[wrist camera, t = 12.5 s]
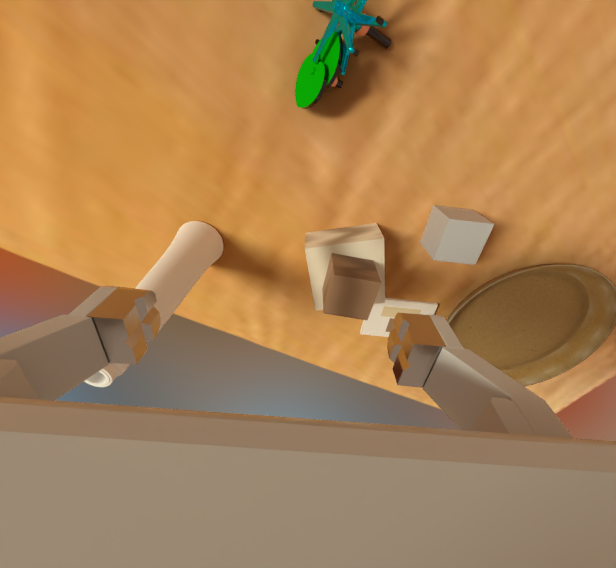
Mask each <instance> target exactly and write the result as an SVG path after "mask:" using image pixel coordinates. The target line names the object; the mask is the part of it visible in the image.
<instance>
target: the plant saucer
mask: <svg viewBox="0 0 616 568" xmlns="http://www.w3.org/2000/svg"><path fill="white" fill-rule="evenodd" d="M447 322H448V324H449V325H450V327H451V329H452V330H453V332H454V333H455V335H456V337H457V338H458V340H459V341H460V343H461V345H462V346H463V348H464V349H469V350H471V351H472V352H474V353H475V354H477V355H478V356H479V357H481V358H482V359H484V360H485V361H487V362H488V363H490V364H491V365H493V366H494V367H496V368H497V369H499V370H500V371H502V372H503V373H505V374H506V375H508V376H509V377H511V378H512V379H514V380H515V381H517V382H518V383H519V384H521V385H522V386H524V387H525V386H529V385H533V384H536V383H540V382H543V381H545V380H548V379H551V378H553V377H555V376H558V375H560V374H562V373H564V372H566V371H568V370H569V369H571V368H573V367H574V366H576V365H578V364H579V363H581V362H582V361H583V360H585V359H586V358H587V357H589V356H590V355H591V354H592V353H593V352H594V351H596V350H597V349H598V348H599V347H600V346H601V345H602V343H603V342H604V341H605V340H606V339H607V337H608V336H609V335H610V333H611V332H612V330H613V328H614V327H615V324H616V287H615V286H614V284H613V283H612V282H611V281H610V280H609V279H608V278H607V277H606V276H604V275H603V274H601V273H599V272H597V271H595V270H593V269H590V268H586V267H582V266H576V265H568V264H546V265H538V266H531V267H527V268H522V269H519V270H515V271H512V272H509V273H506V274H504V275H502V276H499V277H497V278H495V279H493V280H491V281H489V282H487V283H485V284H484V285H482V286H481V287H479V288H478V289H476V290H475V291H473V292H472V293H471V294H470V295H468V296H467V297H466V298H465V299H464V300H463V301H462V302H461V303H460V304H459V305H458V306H457V307H456V308H455V309H454V311H453V312H452V313H451V315H450V316H449V318H448V320H447Z"/></svg>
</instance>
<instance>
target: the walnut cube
mask: <svg viewBox="0 0 616 568" xmlns="http://www.w3.org/2000/svg"><path fill="white" fill-rule="evenodd" d="M381 284H382V282H381V280H380V277H379V274H378V272H377V269H376V266H375V264H374V261H373V260H368V259H363V258H357V257H351V256H346V255H340V254H335V253H331V257H330V261H329V265H328V269H327V272H326V276H325V280H324V284H323V288H322V292H323V313H325V314H331V315H337V316H344V317H350V318H356V319H362V320H368V317H369V315H370V312H371V310H372V307H373V304H374V302H375V299H376V297H377V294H378V291H379V289H380V286H381Z"/></svg>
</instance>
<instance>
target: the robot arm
mask: <svg viewBox="0 0 616 568" xmlns="http://www.w3.org/2000/svg"><path fill="white" fill-rule="evenodd" d="M156 302H157V299H156V295H155V293H154V292H153V291H151V290H143V289H134V288H125V287H115V286H102V287H100V288H99V289H98V290H96V291H95V292H94V293H93V294H92V295H91V296H90V297H88V298H87V299H86V300H85V301H84V302H83V303H81V304H80V305H79V306H78V307H77V308H76V309H75V310H73V311H72V312H71V313H70V314H69V315H61V316H58V317H55V318H53V319H50V320H47V321H45V322H42V323H39V324H37V325H34V326H31V327H29V328H26V329H23V330H21V331H18V332H15V333H13V334H10V335H7V336H4V337H2V338H0V568H616V441H604V440H590V439H577V438H576V439H575V438H573V436H572V435H571V434H570V433H569V431H568V430H567V429H566V427H565V426H564V425H563V424H562V422H561V421H560V420H559V418H558V417H557V416H556V414H555V413H554V412H553V411H552V409H551V408H550V407H549V405H548V404H547V403H546V402H545V400H543V399H542V398H540V397H539V396H537V395H536V394H534V393H533V392H531V391H530V390H528V389H527V388H525V387H524V386H522V385H521V384H519V383H518V382H517V381H515V380H514V379H512V378H511V377H509V376H508V375H506V374H505V373H503V372H502V371H500V370H499V369H497V368H496V367H494V366H493V365H491V364H490V363H488V362H487V361H485V360H484V359H482V358H481V357H479V356H478V355H477V354H475V353H474V352H472V351H471V350H469V349H464V348H463V346H462V345H461V343H460V341H459V340H458V338H457V337H456V335H455V333H454V332H453V330H452V329H451V327H450V325H449V324H448V322H447V320H446V319H445V317H443V316H442V315H422V314H409V313H397V314H396V316H395V318H394V321H393V323H394V325H395V328H394V329H393V330H392V331H390V333H389V337H388V343H387V349H388V355H389V359H391V360H392V361H393V362H394V366H393V372H394V375H395V378H396V382H397V385H402V386H412V387H421V388H423V390H424V391H425V392H426V393H427V394H428V395H429V396H430V397H431V398H432V399H433V400H434V401H435V403H436V404H437V405H438V406H439V407H440V408H441V409H442V410H443V411H444V412H445V413H446V415H447V416H448V417H449V418H450V419H451V420H452V421H453V422H454V423H455V424H456V425H457V426H458V428H459V429H460V430H453V429H438V428H425V427H412V426H398V425H383V424H370V423H357V422H342V421H330V420H316V419H303V418H302V419H301V418H288V417H275V416H261V415H248V414H247V415H246V414H234V413H220V412H206V411H192V410H179V409H165V408H151V407H137V406H124V405H110V404H96V403H82V402H69V401H55V400H56V399H58V398H59V397H61V396H62V395H64V394H65V393H67V392H68V391H70V390H71V389H73V388H74V387H76V386H77V385H79V384H80V383H82V382H83V381H85V380H86V379H88V378H89V377H91V376H92V375H94V374H95V373H97V372H98V371H100V370H101V369H103V368H104V367H106V366H107V365H109V363H118V364H138V362H139V361H140V359H141V358H142V356H143V355H144V353H145V352H146V350H147V345H146V343H148V342H150V341H152V340H154V339H155V337H156V335H157V334H158V331H159V328H160V325H161V317H160V312H159V311H158V310H157V309H156V308H155V307H154V305H155V303H156Z"/></svg>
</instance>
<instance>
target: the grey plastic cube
mask: <svg viewBox="0 0 616 568" xmlns="http://www.w3.org/2000/svg"><path fill="white" fill-rule="evenodd" d="M493 226H494V223H492V222H491V221H489V220H488V219H486V218H485V217H483V216H482V215H480V214H479V213H477V212H476V211H474V210H471V209H463V208H454V207H446V206H438V205H433V207H432V210H431V213H430V216H429V219H428V222H427V225H426V228H425V230H424V233H423V236H422V239H421V242H420V243H421V244H422V246H423V247H424V248H425V250H426V251H427V252H428V254H429V255H430V256H431V258H432V259H433V260H436V261H445V262H454V263H463V264H472V265H475V264H476V262H477V260H478V258H479V256H480V254H481V252H482V249H483V247H484V245H485V243H486V241H487V239H488V237H489V235H490V233H491V231H492V228H493Z"/></svg>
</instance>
